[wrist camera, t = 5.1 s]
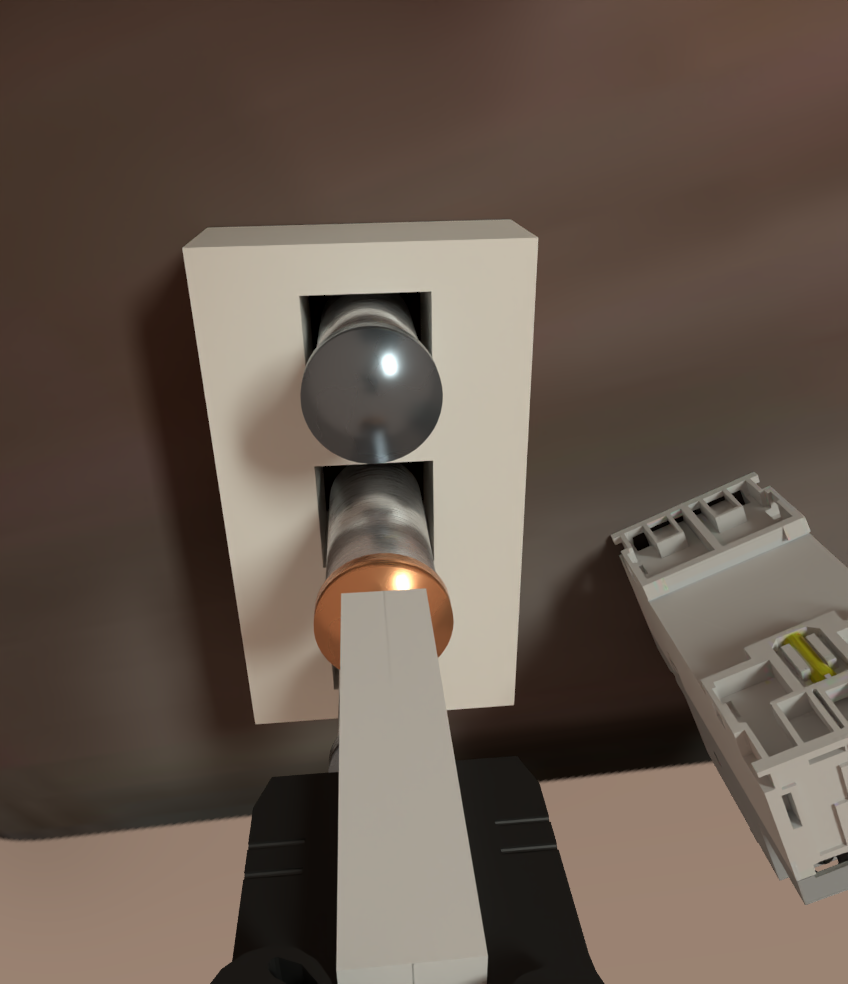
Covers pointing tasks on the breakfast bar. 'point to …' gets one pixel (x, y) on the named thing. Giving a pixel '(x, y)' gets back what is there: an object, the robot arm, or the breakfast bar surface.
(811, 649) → the circuit breaker
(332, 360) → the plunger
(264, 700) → the panel
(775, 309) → the breakfast bar surface
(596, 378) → the breakfast bar surface
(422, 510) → the plunger mid
